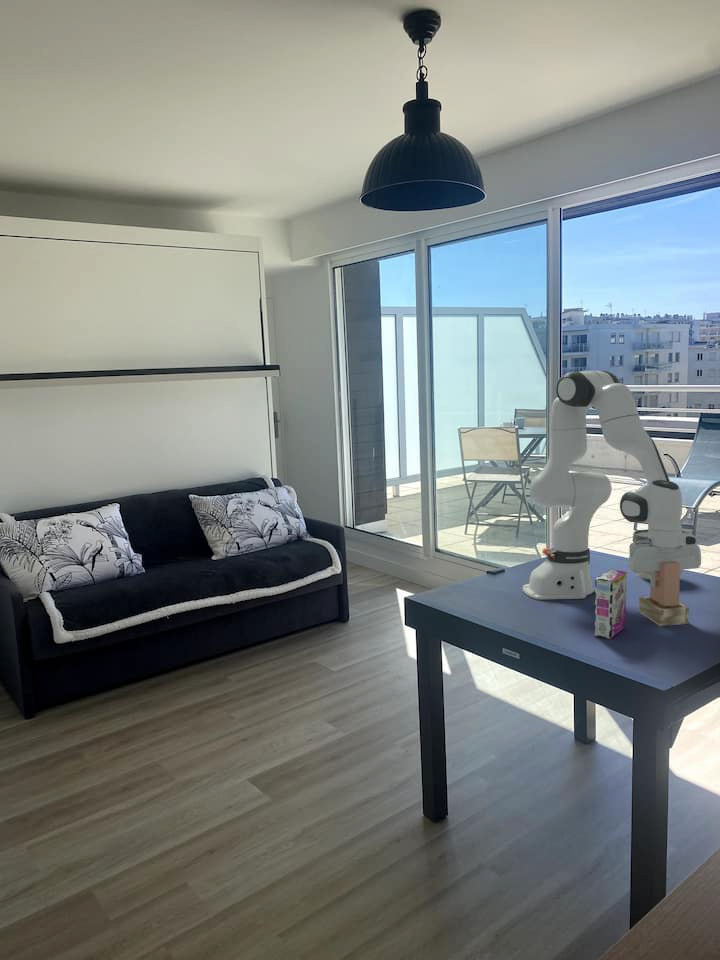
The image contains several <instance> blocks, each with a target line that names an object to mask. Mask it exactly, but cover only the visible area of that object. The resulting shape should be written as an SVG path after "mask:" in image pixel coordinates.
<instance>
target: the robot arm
mask: <svg viewBox="0 0 720 960" xmlns="http://www.w3.org/2000/svg"><path fill="white" fill-rule="evenodd" d="M555 391H556V396H557V397H556V398H555V399H554V400H553V402H552V406H551V412H550V423H549V424H550V449H549V450H550V451H549V456H548V459H547V462H546V464H545V466H544V467H543V469H542V470H541V471H540V472H539V473H538V474H537V475H535V477H533V479H532V480H531V482H530V483H529V488H528V489H529V497H530V499H531V500H532V502H533V503H534V505H536V506H537V507H545V508H566V507H568V508H569V507H570V508H569V511H568V512H567V513H566V514H565V515H564V516H562V517H560V518H558V519H557V520H556V522H554V524H553V526H552V547H551V549H548V548H546V547H545V548H543V549H542V551H541V552H542V554H543V555H545V556H547V558H546V560H544V561H543V562H542V563H541V564H540V565H537V566H536V568H534V569H533V570H532V571H531V572H530V577H529V583H527V584H524V585H522V592H523V593H524V594H525V595H526V596H527V597H530V598H532V599H534V600H573V599H574V600H578V599H579V600H581V599H585V598H587V596H588V595H592V593H594V592H595V589H594V586H593V583H592V580H591V571H590V563H591V552H590V548H589V535H590V534H589V532H590V525H591V522H592V519H593V517H594V515H595V513H596V512H598V509H600V507H602V505H604V504H605V503H606V502H608V500H609V499H610V497H611V494H612V491H613V489H612V483H611V481H610V478H609V477H608V476H607V475H606V474H605V473H601V472H597V471H596V472H595V471H576V472H570V468H571V466H572V464H574V463H575V462H577V461H578V460H581V459H583V457H584V456H585V455H586V453H587V450H588V445H587V443H588V442H587V441H588V440H587V439H588V437H587V413H588V412H589V410H590V409H593V410H596V412H597V414H598V418H599V424H600V428H601V432H602V435H603V439H604V440H605V442H606V443H607V444H608V445H609V446H610V447H612V448H613V449H615V450H617V451H620V452H624V453H626V454H629V455H631V456H632V457H634V458H635V459H636V460H637V461H638V462H639V464H640V466H641V469H642V473H643V474H644V477H645V480H646V482H647V485H645V486H644V487H640V488H637V489H632V490H630V491H626V492H625V493H624V494H623V495H622V496H621V497H620V500H619V509H620V513H621V515H622V517H623V518H624V519H625V520H626V521H627V522H630V523H635V524H637V523H638V524H640V523H647V525H648V526H647V529H648V539H646V540H635V541H634V542H633V541H632V542H631V544H629V550H628V551H629V556H628V569H629V570H630V571H631V572H633V573H634V574H638V573H646V572H647V575H648V577H649V578H650V580H651V586H652V587H657V586H658V583H659V581H658V580H656V579H655V578H654V576H653V575H655V572H659V571H660V562H674V561H675V562H678V563H680V577H681V576H682V574H683V570H693V569H699V568H700V567H701V565H702V553H701V552H702V550H701V548H700V546H699V542H700V538H699V537H698V536H696V535H694V534H691V533H689V532H685V531H682V529H683V527H682V523H681V518H682V515H683V498H682V490H681V488H680V486H679V485H678V484H677V483H676V482H674V481H671V480H670V478H669V475H668V474H667V471H666V467H665V466H664V465H665V464H664V462H663V460H662V457H661V455H660V452H659V450H658V448H657V445H656V443H655V441H654V440H653V438H652V437H651V436H650V435H649V434H648V432H647V431H646V430H645V428H644V426H643V424H642V420H641V418H640V414H639V411H638V407H637V404H636V402H635V398H634V397H633V394H632V392H631V390H630V388H629V387H628V386H627V385H626V384H624V383H620V379H619V378H618V377H617V375H615V374H613V373H611V372H610V371H607V370H595V369H594V370H593V369H588V370H583V371H582V370H581V371H576V370H575V371H570V372H567V373H565V374H563V375H561V377H560V378H559V379H558V381H557V383H556V386H555ZM650 580H649V581H650Z"/></svg>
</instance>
